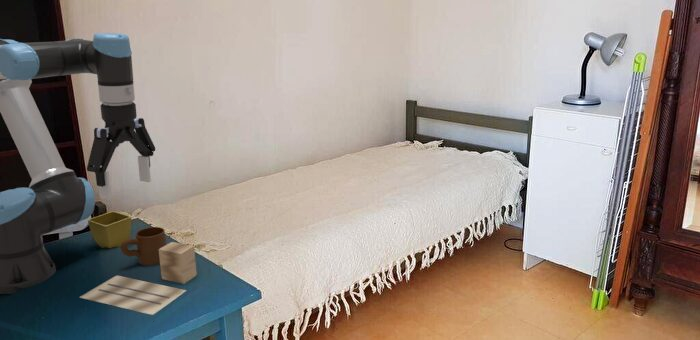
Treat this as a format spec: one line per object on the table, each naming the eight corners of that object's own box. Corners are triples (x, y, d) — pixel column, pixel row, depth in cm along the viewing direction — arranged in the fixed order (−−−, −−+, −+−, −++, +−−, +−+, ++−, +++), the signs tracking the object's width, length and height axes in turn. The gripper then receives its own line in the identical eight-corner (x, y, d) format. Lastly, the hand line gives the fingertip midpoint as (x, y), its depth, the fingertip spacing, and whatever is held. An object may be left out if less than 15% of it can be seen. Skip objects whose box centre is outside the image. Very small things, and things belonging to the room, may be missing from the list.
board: (79, 301, 130) (79, 297, 130) (117, 279, 141) (116, 275, 141) (153, 319, 123) (152, 314, 122) (187, 294, 133) (186, 290, 133)
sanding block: (162, 281, 139) (158, 249, 137) (175, 273, 143) (171, 241, 141) (184, 286, 136) (181, 253, 134) (197, 278, 141) (194, 246, 138)
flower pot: (135, 244, 163) (132, 216, 160) (109, 255, 155) (105, 225, 153) (117, 238, 167) (113, 210, 165) (90, 248, 160) (86, 219, 157)
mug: (130, 277, 142) (125, 244, 139) (118, 268, 147) (114, 236, 145) (173, 263, 150) (169, 231, 147) (160, 255, 155) (157, 224, 153)
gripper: (89, 113, 113) (100, 209, 119) (166, 95, 135) (171, 176, 142) (61, 110, 115) (73, 204, 122) (141, 93, 138) (147, 172, 144)
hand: (126, 189), depth 132 cm, fingers open, 13 cm apart
